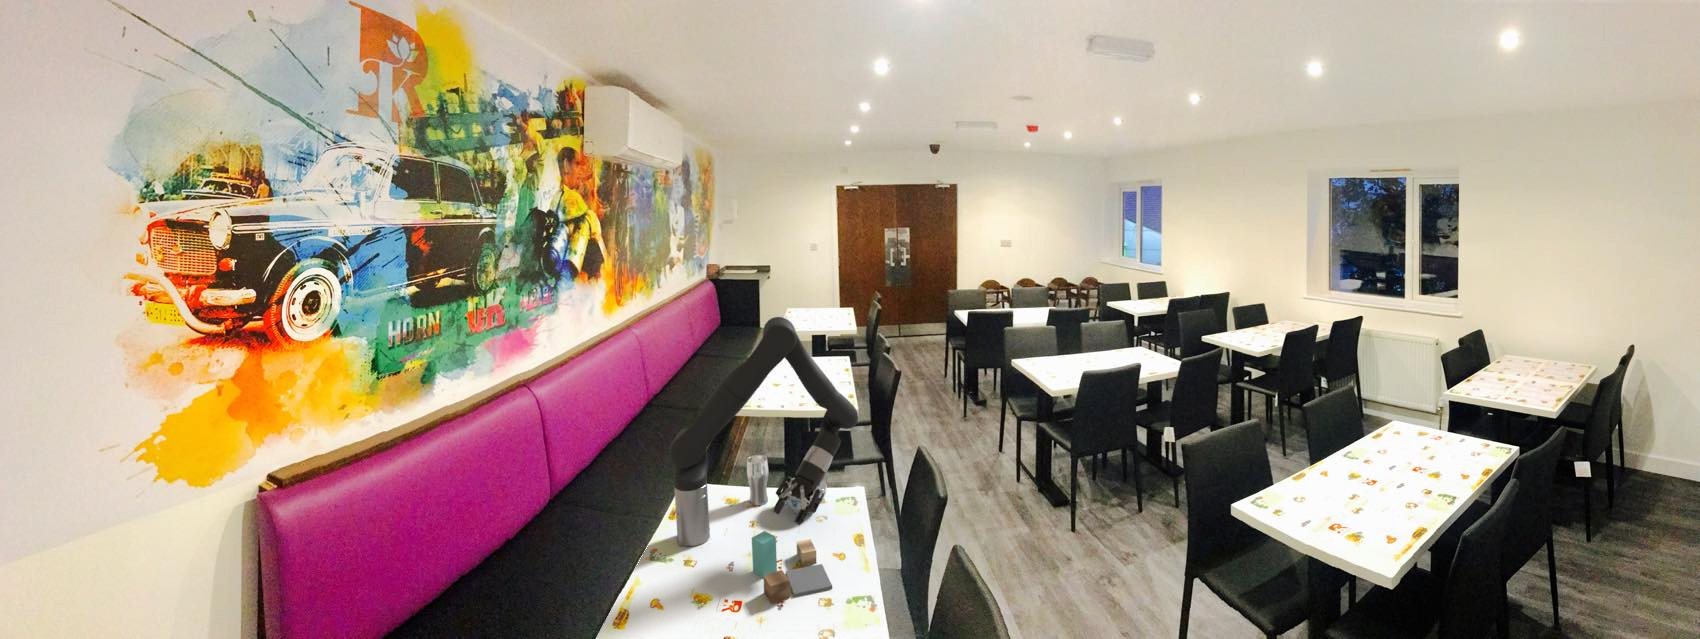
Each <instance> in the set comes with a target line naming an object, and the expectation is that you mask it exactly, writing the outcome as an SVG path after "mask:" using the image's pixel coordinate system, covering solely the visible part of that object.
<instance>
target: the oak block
mask: <svg viewBox="0 0 1700 639" xmlns="http://www.w3.org/2000/svg"><path fill="white" fill-rule="evenodd" d="M796 556H797V558H798V560H799V562H800V564H801V567H807V566H809V565H810V566H811V565H816V564H817V549H816V547H815V545H814V544H813V541H812V540H811V538H810V539H805V540H798V541H796Z"/></svg>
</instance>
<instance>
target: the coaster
mask: <svg viewBox="0 0 1700 639" xmlns="http://www.w3.org/2000/svg"><path fill="white" fill-rule="evenodd" d="M785 575H786V576H787V578H788V579H789V585H790V589H791V590H790V591H791V592H792V595H793V597H795V598H796V597H800V596H804V595H808V594H813V593H819V592H823V591H827V590H832V589H833V584H832V582H831V580H830V578H829V576H828V574H827V572H826V570H825V568H824V566H823V564H822V563H819V564H813V565H810V566H809V565H808V566H803V567H801V568H794V569H791V570H790V569H789V570H785Z"/></svg>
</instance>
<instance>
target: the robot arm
mask: <svg viewBox="0 0 1700 639" xmlns="http://www.w3.org/2000/svg"><path fill="white" fill-rule="evenodd" d="M783 360H786V361H787V362H788V363H789V364H788V365H790V367H791V368H792V369H793V371H794V372H795V374H796V375H797V377H798V379H799V381H800V382H801V384H802V385H803V387H804V388H805V390H806V391H807V393H808V394H809V396H810V397H811V398H812V399H813V401H815V403H816V405H818V406H819V407H821V408H823V409H825V410H826V411H825V412H824V415H823V417H822V418H823V419H822V420H821V424H820V427H819V432H818V435H817V436H816V438H815V439H814V441H813V443H812V445H811V447H810V448H809V450H808V451H807V452H806V453H805V456H804V458H803V459H802V461H801V463H800V465H799V466H798V468H797V470H796V472H795V477H793V478H794V479H793V478H792V477H790V476H788V475H785V476H784V478H783V480H782V482H781V483H780V485H779V487H778V488H777V490H776V491H775V495H776V496H777V497H778V500H777V501H776V503H775V505H774V507H773V512H774V513H775V514H777V515H780V514H781V512H782V510H783V509H784V507H785V505H786V503H785V502H786V501H787V500H789V499H792V498H794V497H795V498H797V499H800V500H801V502H802V509H800V511H799V513H797V515H796V517H795V518H794V523H795V524H797V525H799V526H800V525H801V524H803V523H804V521H805V519H806V517H807V515H808V513H809V512H811V513H812V514H814V513H816V512H817V510H818V507H819V506H820V505H821V503H822V502H821V499H822V497H823V495H824V493H823V492H822V491H820V490H819V489H817V490H816V488H817V486H819V485H820V483H821V481H822V480H824V478H825V475H826V474H827V472H828V470H829V468H830V466H831V465H832V461H833V458H834V457H835V455H836V453H837V451H838V449H839V448H840V445H841V443H842V442H841V441H842V440H841V438H840V436H838V434H839V432H840V430H841V429H844V430H849V429H853V428H855V427H856V425H857V423H858V421H859V414H858V411H857V409H856V407H855V406H854V404H853V403H851V401H850V400H848V398H846V397H845V396H844V395H843V394H842V393H841V392H839V391H838V390H837V389H836V387H835V386H834V384H833V383H832V382H831V380H830V379H829V378H828V377H827V375H826V374H825V373H824V371H823V370H822V369H821V368H820V367H819V365H818V364H817V363H816V362H815V360H814V359H813V357H812V356H811V355H810V353H809V352H808V351H807V349H806V347H805V346H804V344H803V343H802V341H801V339H800V337H799V335H798V333H797V332H796V328H795V326H794V325H793V323H792V322H791V321H790V320H789V319H787V318H785V317H782V316H775V317H771V318H770V319H768V321H766V322H765V324H764V326H763V330H762V338H761V339H760V341H759V343H758V344H757V346H756V347H755V349H754V350H753V352H752V353H751V354H750V355H749V356H748V358H747V359H746V360H744V361H743V362H741V363H740V364H739V365H738V366H736V367H734V368H733V369H732V370H731V371H730V372H728V373H727V375H726V376H724V378H723V379H722V380H721V381H720V383H719V384H718V385H717V386H716V387H715V389H714V390H713V392H712V393H711V395H710V396H709V398H708V399H707V400H706V402H705V404H704V405H703V407H702V409H701V410H700V412H699V414H698V416H697V417H696V418H695V420H693V422H692V423H691V424H690V425H689V426H688V427H687V428H683V429H681V430H680V431H679V432H678V433H677V434H676V435H675V437H674V439H673V440H672V442H671V444H670V445H669V449H668V450H669V451H668V452H669V453H668V454H669V456H668V457H669V459H670V462H671V463H672V464H673V465H674V466H675V469H674V475H673V487H674V489H673V490H674V501H675V517H676V520H675V521H676V533H677V545H678V546H680V547H682V546H684V547H694V546H699V545H703V544H704V543H706V542H707V541H708V540H709V539H710V538H711V532H710V531H711V529H710V515H709V514H710V513H709V511H710V509H709V496H708V495H709V494H708V481H707V478H708V477H707V476H708V468H709V467H708V447H709V446H710V444H711V443H712V442H713V440H714V439H715V437H716V436H717V435H718V434H719V433H720V432H721V431H722V430H723V429H724V428H725V427H726V426H727V425H728V424H729V423H730V422H731V421H732V420H733V419H734V418H735V416H736V415H737V414H738V413H739V412H740V411H741V410H742V409H743V408H744V406H745V405H746V404H747V403H748V401H749V400H751V398H752V397H753V395H754V394H755V393H756V391H757V390H758V389H759V388H760V386H761V385H762V383H763V382H764V381H765V380H766V378H767V377H768V376H769V374H770V373H771V372H772V371H773V370H774V369H775V368H776V367H777V366H778V365H779V364H780V363H781V362H782V361H783ZM790 486H791V487H790ZM782 489H783V490H782ZM781 491H782V492H781ZM812 495H813V498H812V500H811V496H812ZM820 502H821V503H820ZM809 514H810V513H809Z"/></svg>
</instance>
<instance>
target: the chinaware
mask: <svg viewBox="0 0 1700 639" xmlns="http://www.w3.org/2000/svg"><path fill="white" fill-rule="evenodd" d="M794 478H795V477H793V478H792V479H794ZM790 487H791V486H790ZM827 488H828V485H827V483H826V482H825V481H824V479H822V481H821V483H820V485H819V486H817V488H816V490H817V489H819V490H820V491H822V492H823V493H824V495H823V497H822V499H821V502H820V504H821V503H822V502H823V500H824V499H825V496H826V493H827ZM822 489H824V490H822ZM782 490H783V489H782ZM781 492H782V491H781ZM812 498H813V495H812V496H811V500H812ZM785 505H787V506H788V508H790V509H791V510H793V512H794V513H796V514H798V513H799V511H800V509H802V502H801V500H800V499H797V498H795V497H794V498H792V499H789V500H787V501H786V502H785ZM811 513H812V512H809V514H811Z"/></svg>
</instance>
